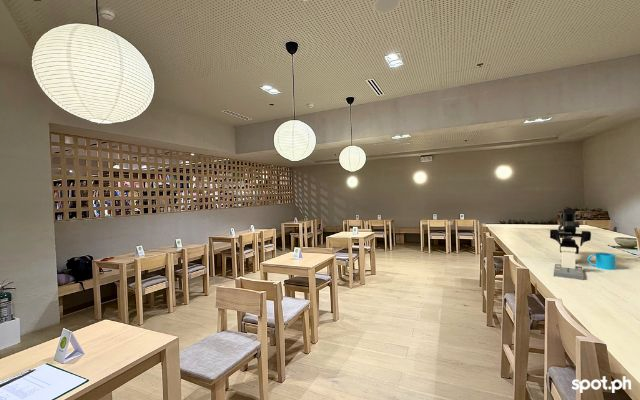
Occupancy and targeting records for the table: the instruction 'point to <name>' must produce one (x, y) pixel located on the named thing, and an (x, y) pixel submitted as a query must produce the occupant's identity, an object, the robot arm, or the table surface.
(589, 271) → the table surface
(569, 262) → the cream lidded box
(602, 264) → the mug
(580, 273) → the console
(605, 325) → the table surface
